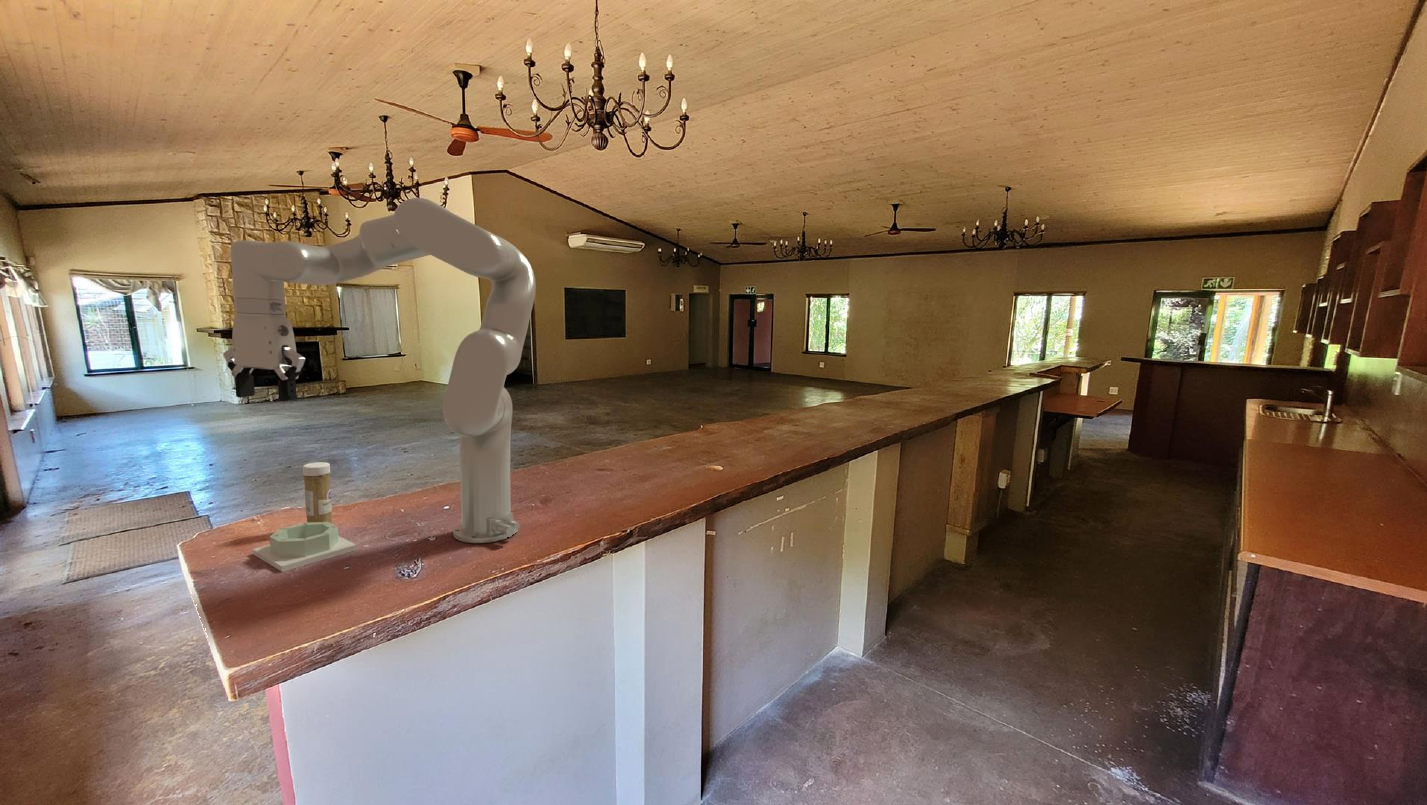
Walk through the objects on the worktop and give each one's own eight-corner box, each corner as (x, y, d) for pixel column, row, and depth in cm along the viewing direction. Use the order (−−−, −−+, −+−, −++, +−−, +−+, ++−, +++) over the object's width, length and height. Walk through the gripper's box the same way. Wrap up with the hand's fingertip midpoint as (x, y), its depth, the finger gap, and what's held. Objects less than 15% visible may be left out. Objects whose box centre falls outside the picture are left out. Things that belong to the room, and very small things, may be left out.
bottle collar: (357, 549, 106) (356, 529, 106) (282, 571, 96) (280, 549, 96) (326, 534, 113) (325, 515, 112) (253, 554, 103) (251, 533, 102)
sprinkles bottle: (333, 529, 116) (329, 465, 114) (305, 533, 113) (301, 468, 111) (333, 522, 119) (329, 460, 117) (306, 525, 117) (302, 462, 115)
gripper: (316, 311, 109) (321, 399, 111) (242, 307, 112) (248, 393, 115) (280, 310, 102) (286, 404, 104) (201, 306, 105) (209, 397, 107)
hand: (266, 398), depth 109 cm, fingers open, 9 cm apart
